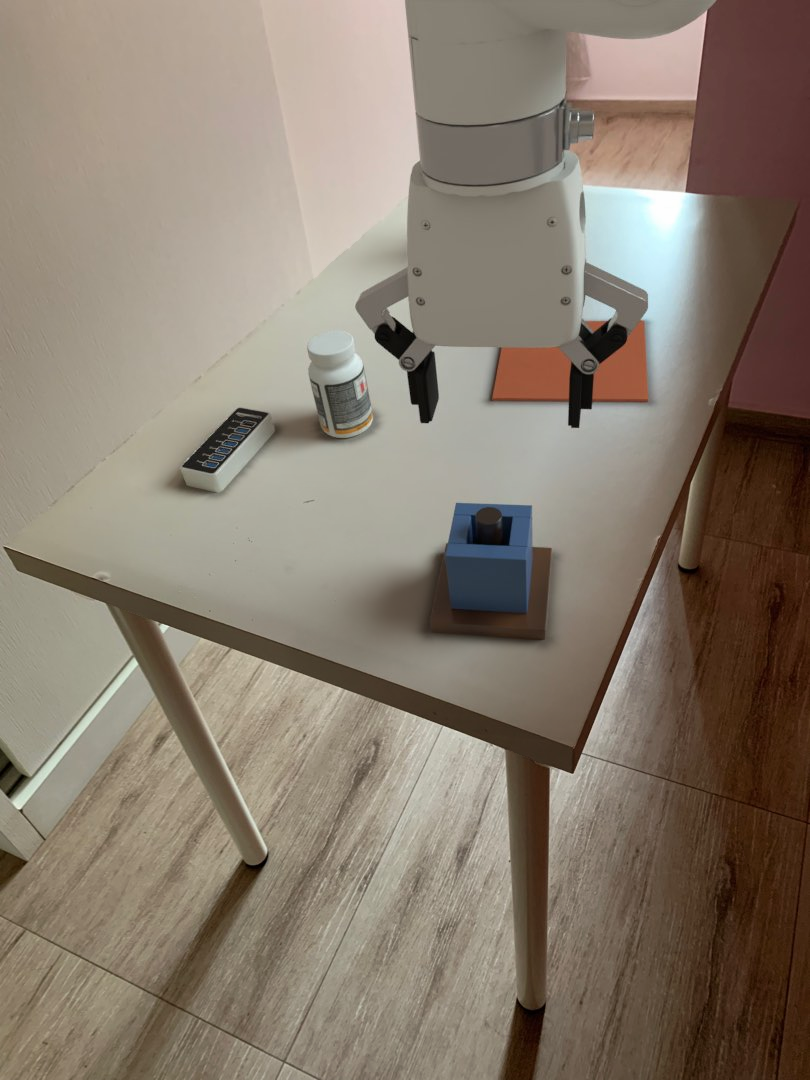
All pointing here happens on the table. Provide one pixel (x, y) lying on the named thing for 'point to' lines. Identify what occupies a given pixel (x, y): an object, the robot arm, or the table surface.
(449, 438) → the table surface
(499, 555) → the blue block
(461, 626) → the dowel stand
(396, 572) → the table surface
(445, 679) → the table surface
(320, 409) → the pill bottle
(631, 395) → the mat
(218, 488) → the multiport hub
